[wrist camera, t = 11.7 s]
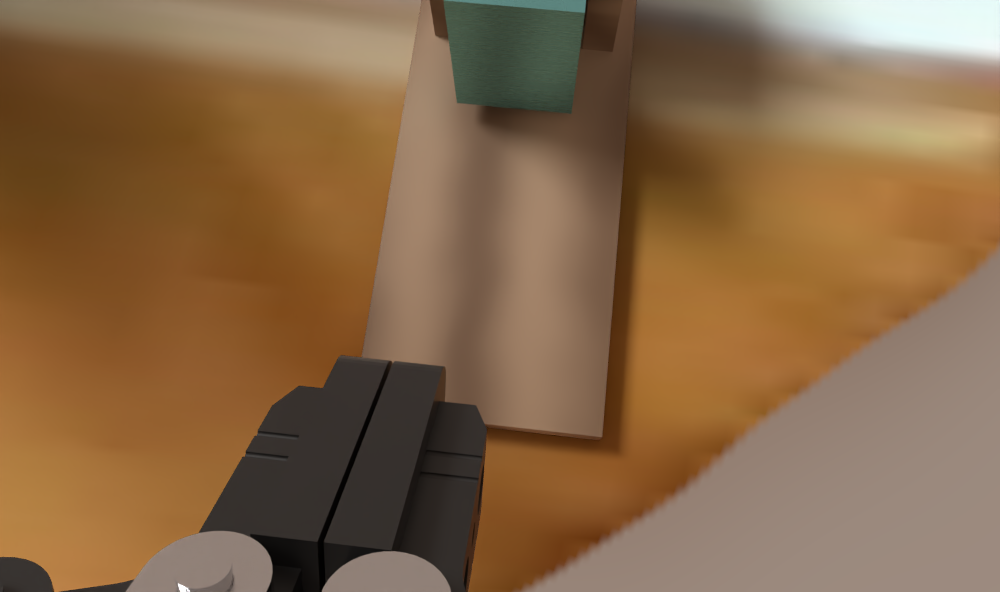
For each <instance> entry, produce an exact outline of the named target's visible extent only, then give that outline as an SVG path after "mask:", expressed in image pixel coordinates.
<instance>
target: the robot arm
mask: <svg viewBox="0 0 1000 592" xmlns="http://www.w3.org/2000/svg"><path fill="white" fill-rule="evenodd" d="M445 389H446V368H445V366H437V365H428V364H419V363H410V362H401V361H394V362H393V363H392V361H390V360H380V359H371V358H362V357H353V356H344V355H341V356H340V357H339V358H338V359H337V361H336V363H335V365H334V367H333V369H332V371H331V373H330V375H329V377H328V379H327V381H326V383H325V385H324V387H323V388H315V387H306V386H298V387H297V388H295V389H294V390H293V391H291V392H290V393H289V394H287V395H286V396H285V397H283V398H282V399H281V400H279V401H278V402H276V403H275V404H274V405H272V407H271V409H270V410H269V412H268V414H267V416H266V417H265V419H264V421H263V422H262V424H261V426H260V428H259V429H258V434H257V436H254V438H253V440H252V442H251V443H250V445H249V447H248V448H247V450H246V455H245V457H242V459H241V461H240V462H239V464H238V466H237V468H236V469H235V471H234V473H233V474H232V476H231V478H230V480H229V481H228V483H227V485H226V487H225V488H224V490H223V492H222V494H221V495H220V497H219V499H218V500H217V502H216V504H215V506H214V507H213V509H212V511H211V513H210V514H209V516H208V518H207V520H206V521H205V523H204V525H203V526H202V528H201V530H200V532H199V533H198V534H194V535H190V536H188V537H185V538H182V539H180V540H178V541H176V542H174V543H172V544H170V545H168V546H167V547H165V548H164V549H162V550H161V551H159V552H158V553H157V554H156V555H155V556H153V557H152V558H151V559H150V560H149V561H148V563H147V564H146V565H145V566H144V567H143V569H142V570H141V571H140V573H139V574H138V575H137V577H136V578H135V579H134V580H130V581H127V582H122V583H117V584H111V585H104V586H97V587H90V588H83V589H76V590H69V591H61V592H468V588H469V582H470V576H471V570H472V563H473V557H474V551H475V544H476V538H477V532H478V526H479V520H480V514H481V503H482V490H483V476H484V463H485V450H486V437H487V428H486V426H485V424H484V422H483V419H482V417H481V415H480V413H479V410H478V408H477V406H476V405H470V404H461V403H452V402H445ZM0 592H54V589H53V586H52V582H51V579H50V577H49V575H48V573H47V572H46V571H45V570H44V569H43V568H42V567H41V566H39V565H38V564H36V563H34V562H31V561H29V560H26V559H21V558H15V557H0Z"/></svg>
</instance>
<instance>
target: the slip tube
mask: <svg viewBox="0 0 1000 592" xmlns="http://www.w3.org/2000/svg"><path fill="white" fill-rule="evenodd" d="M443 1H444V9H445V16H446V24H447V31H448V39H449V47H450V54H451V62H452V69H453V77H454V85H455V92H456V100H457V103H462V104H472V105H483V106H494V107H504V108H515V109H526V110H536V111H547V112H558V113H568V114H572V106H573V98H574V91H575V83H576V76H577V68H578V61H579V53H580V45H581V38H582V30H583V23H584V15H585V6H586V0H443Z"/></svg>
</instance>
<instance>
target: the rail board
mask: <svg viewBox="0 0 1000 592" xmlns="http://www.w3.org/2000/svg"><path fill="white" fill-rule="evenodd" d="M636 1H637V0H586V6H585V15H584V23H583V30H582V38H581V45H580V53H579V61H578V68H577V76H576V83H575V91H574V98H573V106H572V114H568V113H558V112H547V111H536V110H526V109H515V108H504V107H494V106H483V105H472V104H462V103H457V100H456V92H455V85H454V77H453V69H452V62H451V54H450V47H449V39H448V31H447V24H446V16H445V9H444V1H443V0H422V1H421V7H420V13H419V19H418V25H417V31H416V37H415V42H414V48H413V54H412V60H411V66H410V72H409V78H408V84H407V90H406V96H405V102H404V108H403V114H402V120H401V126H400V132H399V138H398V144H397V150H396V155H395V161H394V167H393V173H392V179H391V185H390V191H389V197H388V203H387V209H386V215H385V221H384V227H383V233H382V239H381V245H380V251H379V257H378V263H377V268H376V274H375V280H374V286H373V292H372V298H371V304H370V310H369V316H368V322H367V328H366V334H365V340H364V346H363V352H362V358H371V359H380V360H390V361H392V363H393V362H394V361H401V362H410V363H419V364H428V365H437V366H445V368H446V389H445V402H452V403H461V404H470V405H476V406H477V408H478V410H479V413H480V415H481V417H482V419H483V422H484V424H485V426H486V427H487V428H496V429H505V430H514V431H523V432H531V433H540V434H549V435H558V436H567V437H575V438H584V439H593V440H600V439H601V438H602V434H603V421H604V408H605V396H606V383H607V370H608V357H609V345H610V332H611V319H612V306H613V294H614V281H615V268H616V256H617V243H618V230H619V217H620V205H621V192H622V179H623V166H624V154H625V141H626V128H627V115H628V103H629V90H630V77H631V65H632V52H633V39H634V26H635V14H636Z"/></svg>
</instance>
